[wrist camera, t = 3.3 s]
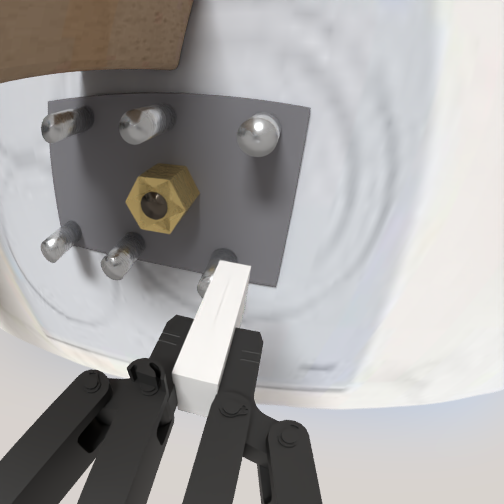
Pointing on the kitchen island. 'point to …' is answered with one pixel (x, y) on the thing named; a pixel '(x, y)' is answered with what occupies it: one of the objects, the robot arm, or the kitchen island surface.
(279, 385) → the kitchen island surface
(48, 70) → the wooden block
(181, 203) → the nut
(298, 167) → the grey flat plate
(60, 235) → the set of silver pegs
